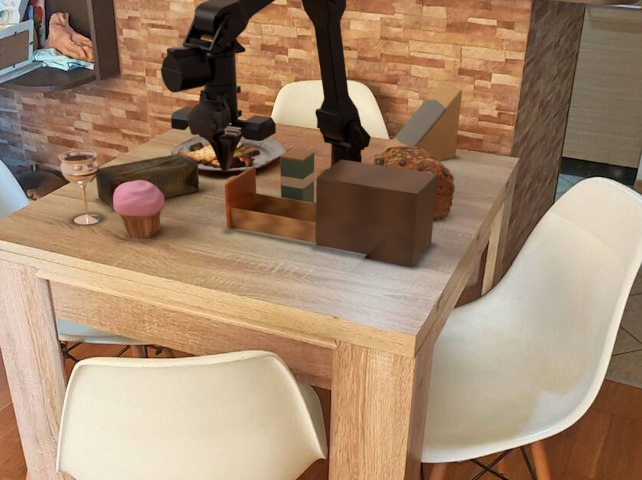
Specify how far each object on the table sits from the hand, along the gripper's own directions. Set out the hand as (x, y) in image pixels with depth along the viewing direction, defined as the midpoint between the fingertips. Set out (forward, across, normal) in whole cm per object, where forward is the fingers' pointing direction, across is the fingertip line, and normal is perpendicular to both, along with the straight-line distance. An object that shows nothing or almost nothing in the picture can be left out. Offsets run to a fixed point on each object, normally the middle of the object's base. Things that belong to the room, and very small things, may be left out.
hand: (225, 170), depth 151 cm
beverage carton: (+8, -19, +2) cm, 21 cm away
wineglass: (+8, -22, -14) cm, 27 cm away
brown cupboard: (+8, +31, -3) cm, 32 cm away
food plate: (+9, -16, +28) cm, 33 cm away
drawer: (+8, +13, -3) cm, 15 cm away
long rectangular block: (+8, +11, +7) cm, 16 cm away
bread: (+9, +30, +19) cm, 36 cm away
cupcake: (+8, -8, -16) cm, 20 cm away
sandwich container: (+9, +22, +48) cm, 53 cm away
